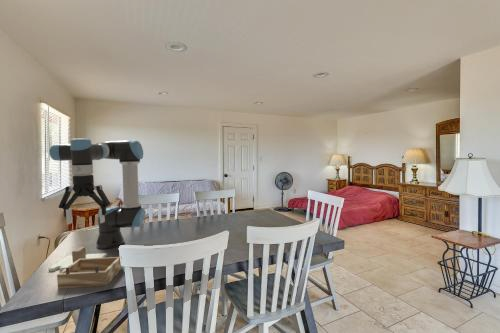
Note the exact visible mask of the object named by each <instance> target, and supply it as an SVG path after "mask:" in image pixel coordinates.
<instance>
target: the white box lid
mask: <svg viewBox="0 0 500 333" xmlns="http://www.w3.org/2000/svg"><path fill="white" fill-rule="evenodd" d="M71 253H72V254H68V255H67V256H65V257H63V258H62V259H61V260H59V261H58V262H56V263H55V264H53V265H51V266H50V267H48V272H56V271H57V270H59V271H60V272H62V271H63V270H64V269H66V268H67V267H68V266H70V265H71V264H72V263H74V262H75V261H77V260H78V259H85V258H105V257H107V256H108V254H107V252H105V253H104V252H103V253H87V252H86V246H78V247H77V248H76V249H73V250H72V251H71ZM86 253H87V254H86Z"/></svg>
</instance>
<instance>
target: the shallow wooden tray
mask: <svg viewBox="0 0 500 333" xmlns="http://www.w3.org/2000/svg"><path fill="white" fill-rule="evenodd" d="M120 257H121V256H109V257H107V256H106V257H105V258H85V259H78V260H77V261H75V262H74V263H72V264H71V265H70V266H68V267H67V268H66V269H64V270H63V271H60V272H59V273H58V274H56V280H57V289H70V288H71V289H72V288H86V287H87V288H88V287H102V286H103V287H104V286H108V284H110V283H111V282H112V281H113V279H114V278H115V277H116V275H118V274H119V272H120V271H121V270H122V269H123V266H122V267H121V265H120Z"/></svg>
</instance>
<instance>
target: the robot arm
mask: <svg viewBox="0 0 500 333" xmlns="http://www.w3.org/2000/svg"><path fill="white" fill-rule="evenodd" d="M49 156H50V158H51V159H52V160H53V161H60V162H63V161H65V162H67V161H71V172H72V175H73V176H72V186H71V185H68V186H65V188H64V190H65V191H64V194H63V195H62V198H61V200H60V203H59V205H58V208H59V209H62V210H63V212H64V214H63V216H64V217H66V218H65V219H66V225H68V226H69V225H70V224H73V210H72V209H73V208H71V206H72V205H73V203H75V201H76V200H77V199H78V198H79V197H81V198H82V197H89V198H91V199H92V200H93V201H94V202H95V203H96V204H97V205H98V206H99V207H100V208H99V209H98V212H97V220H98V221H97V223H98V237H97V239H96V243H95V244H96V249H97V248H98V249H102V250H104V249H113V248H116V247H119V246H121V245H123V244H124V243H125V239H124V236H123V234H122V232H121V228H122V229H126V228H132V229H133V228H139V227H141V226H142V225H143V223H144V222H145V218H146V209H145V208H144V207H143V206H142V204H141V203H140V202H139V200H140V199H139V198H140V197H139V196H140V195H139V174H138V165H139V164H140V162H141V160H143V158H144V149H143V146H142V144H141V143H140V141H138V140H132V139H130V140H129V139H128V140H108V141H101V142H100V141H99V142H96V143H92V140H91V139H90V138H71V140H70V143H67V144H66V143H65V144H64V143H63V144H61V143H60V144H59V143H58V144H53V145H51V146H50V147H49ZM103 159H106V160H118V161H119V164H121V168H122V187H123V188H122V190H123V191H122V195H123V196H122V198H123V204H122V205H121V206H118V205H113V206H111V202H110V200H109V198H108V197H107V195H106V193H105V192H104V190H103V186H102V185H101V184H98V185H94V183H95V182H94V175H93V174H94V166H93V165H94V164H93V161H100V160H103ZM95 191H96V192H97V193H96V192H95ZM72 192H74V193H73V194H72V196H71V193H72ZM70 196H71V197H70ZM69 198H70V199H69Z"/></svg>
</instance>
